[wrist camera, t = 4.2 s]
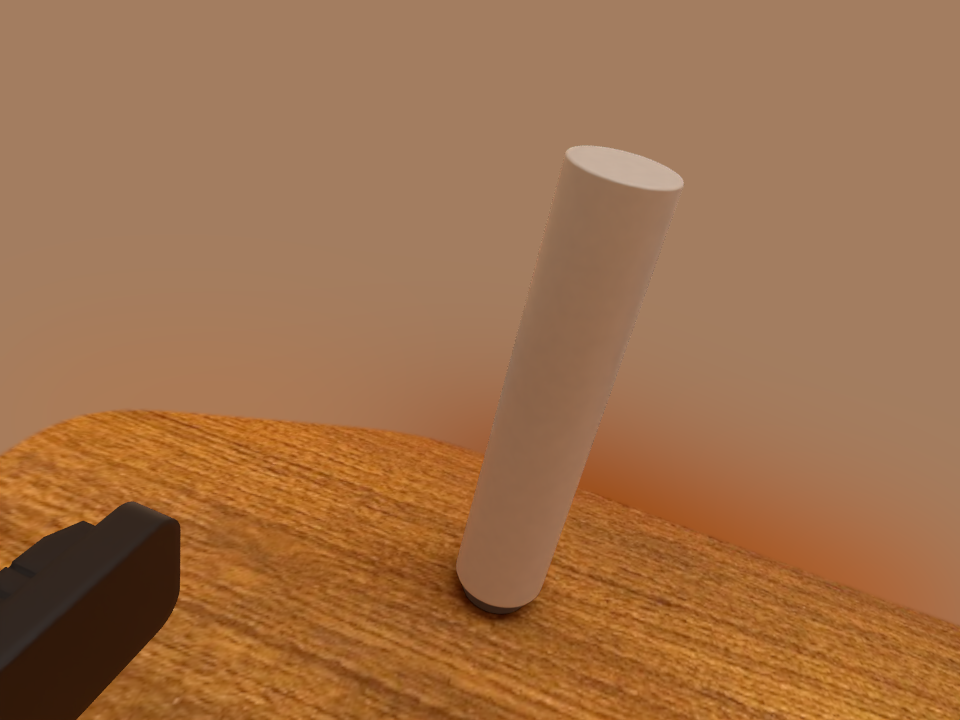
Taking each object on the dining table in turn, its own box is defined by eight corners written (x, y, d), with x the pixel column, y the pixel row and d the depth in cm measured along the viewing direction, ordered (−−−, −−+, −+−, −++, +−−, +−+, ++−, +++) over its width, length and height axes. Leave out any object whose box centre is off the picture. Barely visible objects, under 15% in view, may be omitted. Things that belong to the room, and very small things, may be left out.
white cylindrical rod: (480, 634, 21) (617, 187, 15) (436, 567, 23) (542, 142, 17) (553, 607, 23) (709, 188, 16) (507, 546, 24) (630, 146, 18)
